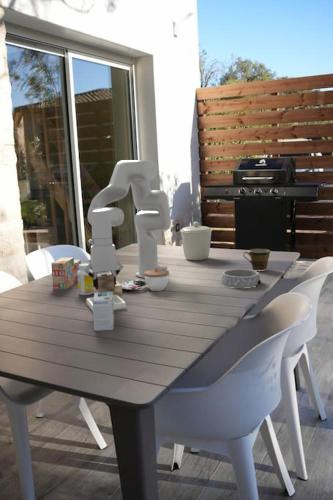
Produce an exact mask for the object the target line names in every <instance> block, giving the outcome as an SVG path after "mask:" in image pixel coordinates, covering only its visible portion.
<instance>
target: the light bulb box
mask: <svg viewBox="0 0 333 500" xmlns="http://www.w3.org/2000/svg"><path fill="white" fill-rule="evenodd" d="M92 298H93V312H92V315H93V331H94V332H95V331H113V330H114V322H115V321H114V320H115V318H114V317H115V316H114V310H113V292H98V291H97V292H94V293H93V297H92Z"/></svg>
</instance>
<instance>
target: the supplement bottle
mask: <svg viewBox="0 0 333 500" xmlns="http://www.w3.org/2000/svg"><path fill="white" fill-rule="evenodd" d="M88 264H89V263H81V264H80V265H79V268H80V270H79V271H78V272H77V277H78V281H77V287H78V289H77V290H78V294H79V295H81V296H90V295H94V293H95V287H93V278H92V277H91V276H89V275H88V274H87V273H86V272H85V271H84V269H85V268H86V267H87V265H88ZM89 271H90V272H91V273H92V274H93V271H92V270H91V269H89Z"/></svg>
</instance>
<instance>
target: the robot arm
mask: <svg viewBox="0 0 333 500" xmlns="http://www.w3.org/2000/svg"><path fill="white" fill-rule="evenodd" d="M157 175H158V166H157V163H156V162H155V161H154V160H151V159H150V160H149V159H148V160H143V159H138V160H137V159H134V160H133V159H131V160H129V159H128V160H127V159H126V160H120V161H118V162H117V163H116V164H115V166H114V169H113V172H112V175H111V178H110V180H109V183H108V185H107V186H106V187H104V188H103V189H102V190H100V192H98V193H97V194H96V195H95V196H94V197H93V198H92V200H91V202H90V206H89V208H88V212H87V220H88V223H89V224H90V225H91V239H89V240H88V244H91V246H90V254H89V263H87V264H88V265H87V267H86V268H85V269H84V271H85V272H86V273H87V274H88V275H89V276H91V277H92V278H93V287H94V290H96V289H98V279H97V274H99V273H107V272H108V271H111V273H112V275H113V276H114V287H115V284H116V281H117V276H118V275H119V274H120V272H121V271H122V270H123V269H124V265H122V263H120V262H119V261H118V255H117V250H116V245H115V244H114V243H113V230H112V229H113V228H112V227H119V226H120V225H122V224H123V222H124V221H125V213H124V211H123V209H121V208H119V207H115V206H110V207H109V206H107V205H109V204H111V203H114V202H117V201H120V200H122V199H124V198H125V197H126V196H127V195H128V194H129V191H130V187H131V191H132V198H133V204H134V207H135V208H136V210H138V211H139V212H137V213H136V214H135V215H134V220H133V221H134V226H135V231H136V232H135V233H136V237H137V242H136V243H137V263H138V264H137V265H138V266H137V267H138V271H137V272H135V276H136V277H138V278H142V279H143V278H144V279H145V274H144V273H145V271H148V270H154V269H155V268H158V269H162V270H167V271H168V266H167V265H159V264H158V262H159V261H158V240H157V236H156V234H155V233H154V232H157V231H158V232H162V231H163V232H165V231H168V230H169V229H171V225H172V219H171V210H170V204H169V198H168V195H167V193H166V192H165V191H164V190H160V189H157V190H156V189H153V190H152V189H151V186H150V181H151V180H154V179H156V177H157ZM89 269H90V270H92V271H93V274H92V273H91V272H90V271H89Z"/></svg>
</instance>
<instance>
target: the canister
mask: <svg viewBox="0 0 333 500" xmlns="http://www.w3.org/2000/svg"><path fill="white" fill-rule="evenodd" d="M212 231H213V228H211V227H210V226H204V225H200V222H198V221H193V223H192V226H191V225H190V226H185V227H182V229H179V232H180V233H181V234H180V236H181V240H182V241H181V242H182V249H183V255H184V257H185V259H186V260H189V261H203V260H207V259H208V257H209V256H210V251H211V239H212V237H211V236H212Z"/></svg>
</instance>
